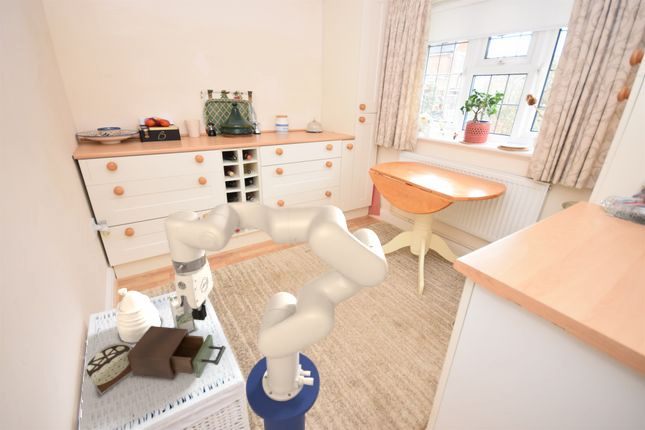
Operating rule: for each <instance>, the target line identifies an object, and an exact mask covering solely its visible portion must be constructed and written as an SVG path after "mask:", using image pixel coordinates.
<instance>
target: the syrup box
mask: <svg viewBox="0 0 645 430" xmlns="http://www.w3.org/2000/svg"><path fill="white" fill-rule="evenodd" d="M168 302H169V307H170V311H171V316H172V320H173V325H174V328H179V329H188V334H189V333H191V332H194V331H196V325H195V320H194V319H193V317H192V312H191V313H190V314H184V306H183V307H180V306H179V304H178V300H177V295H176V294H174V295H171V296H169V297H168Z"/></svg>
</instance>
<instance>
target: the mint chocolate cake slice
mask: <svg viewBox="0 0 645 430" xmlns="http://www.w3.org/2000/svg"><path fill="white" fill-rule="evenodd" d="M133 347H134V346H132V345H131V344H130V343H128V342H114V343H111V344H108V345H106V346H104V347H102V348H100V349H98V350H97V351H96V352H95V353H93V354H92V355H91V356H90V357H89V358H88V360H87V362H86V364H85V366H84V377H85V379H86V381H88V380H89V379H90V381H91V383H92V384H93V386H94V387H95V388H96V390H97V392H99V394H100V395H103V394H104V393H105V392H107V391H108V390H110V389H111V388H112V387H114V386H115V385H116V384H118V383H119V382H120V381H122V380H123V379H124V378H126V377H127V376H129V375H130V374H132V373H133V372H132V369H131V366H130V363H129V360H128V357H127V355H128V353H129V352H130V351H131V350H132V348H133ZM88 378H89V379H88Z"/></svg>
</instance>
